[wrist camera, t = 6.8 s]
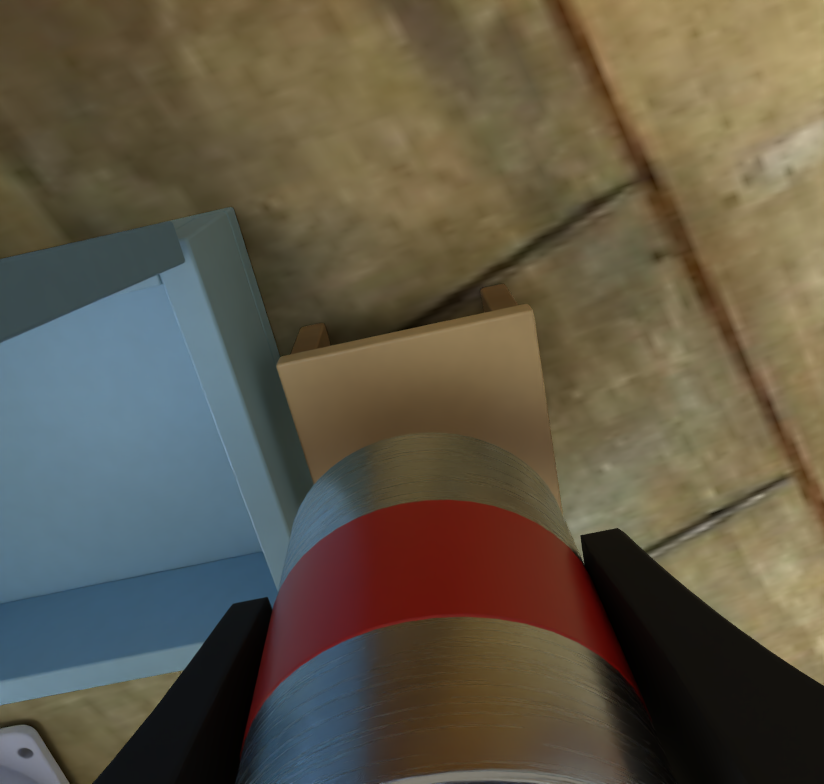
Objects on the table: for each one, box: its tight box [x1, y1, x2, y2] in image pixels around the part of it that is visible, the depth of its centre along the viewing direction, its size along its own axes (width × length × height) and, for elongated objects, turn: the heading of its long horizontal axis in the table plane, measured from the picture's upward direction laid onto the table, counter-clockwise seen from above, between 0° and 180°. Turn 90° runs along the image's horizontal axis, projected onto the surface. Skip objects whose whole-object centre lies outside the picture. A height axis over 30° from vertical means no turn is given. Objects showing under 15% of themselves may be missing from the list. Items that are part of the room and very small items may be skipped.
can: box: [235, 432, 678, 784], centre depth 10 cm, size 5×5×6 cm
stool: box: [276, 284, 563, 514], centre depth 18 cm, size 6×6×3 cm
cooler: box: [0, 207, 314, 705], centre depth 17 cm, size 11×13×4 cm
